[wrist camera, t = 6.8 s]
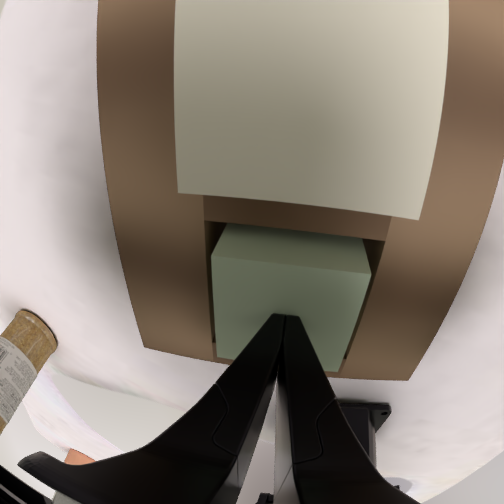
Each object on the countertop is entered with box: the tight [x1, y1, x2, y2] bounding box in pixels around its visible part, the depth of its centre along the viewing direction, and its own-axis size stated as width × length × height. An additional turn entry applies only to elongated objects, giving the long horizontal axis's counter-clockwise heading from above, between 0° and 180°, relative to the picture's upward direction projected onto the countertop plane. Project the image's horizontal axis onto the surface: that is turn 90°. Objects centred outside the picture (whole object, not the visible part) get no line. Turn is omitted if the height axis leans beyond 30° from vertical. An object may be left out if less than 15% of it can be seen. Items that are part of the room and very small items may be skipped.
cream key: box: [174, 0, 449, 220], centre depth 5 cm, size 4×4×3 cm
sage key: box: [211, 223, 371, 372], centre depth 11 cm, size 4×4×3 cm
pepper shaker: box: [52, 449, 96, 500], centre depth 38 cm, size 7×7×19 cm
